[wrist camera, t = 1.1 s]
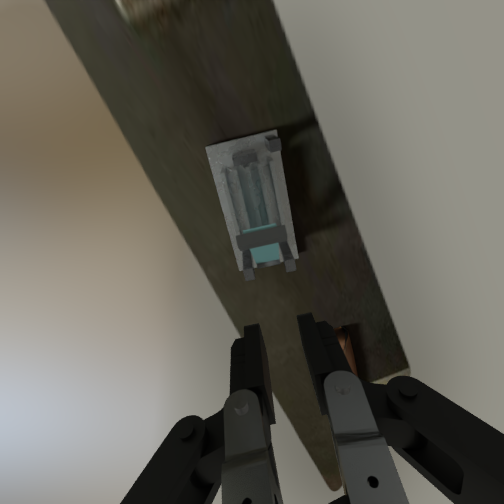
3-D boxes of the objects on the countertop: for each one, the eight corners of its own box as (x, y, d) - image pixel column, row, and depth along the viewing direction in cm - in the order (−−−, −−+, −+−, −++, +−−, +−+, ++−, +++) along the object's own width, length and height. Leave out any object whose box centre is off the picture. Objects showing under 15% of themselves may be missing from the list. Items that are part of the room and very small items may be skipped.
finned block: (206, 145, 38) (198, 154, 30) (275, 129, 37) (284, 133, 29) (239, 266, 45) (239, 297, 38) (296, 253, 45) (309, 282, 37)
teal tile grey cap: (233, 227, 26) (237, 246, 25) (282, 216, 26) (287, 235, 25) (250, 260, 39) (253, 273, 39) (283, 253, 39) (286, 266, 39)
